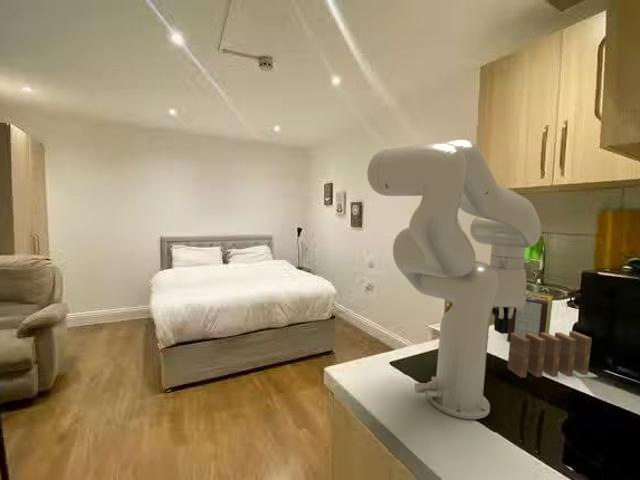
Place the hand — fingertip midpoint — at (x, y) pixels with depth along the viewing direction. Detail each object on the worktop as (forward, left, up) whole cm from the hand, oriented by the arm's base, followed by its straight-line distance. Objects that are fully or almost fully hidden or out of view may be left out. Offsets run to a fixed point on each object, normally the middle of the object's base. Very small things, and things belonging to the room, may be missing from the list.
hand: (500, 331), depth 86 cm
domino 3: (+14, 0, -11) cm, 18 cm away
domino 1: (+5, 0, -11) cm, 12 cm away
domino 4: (+19, 0, -11) cm, 22 cm away
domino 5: (+23, 0, -11) cm, 26 cm away
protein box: (+27, +22, -11) cm, 37 cm away
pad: (+23, 0, -11) cm, 26 cm away
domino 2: (+10, 0, -11) cm, 15 cm away
